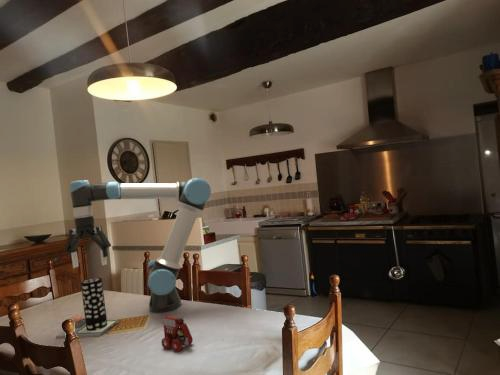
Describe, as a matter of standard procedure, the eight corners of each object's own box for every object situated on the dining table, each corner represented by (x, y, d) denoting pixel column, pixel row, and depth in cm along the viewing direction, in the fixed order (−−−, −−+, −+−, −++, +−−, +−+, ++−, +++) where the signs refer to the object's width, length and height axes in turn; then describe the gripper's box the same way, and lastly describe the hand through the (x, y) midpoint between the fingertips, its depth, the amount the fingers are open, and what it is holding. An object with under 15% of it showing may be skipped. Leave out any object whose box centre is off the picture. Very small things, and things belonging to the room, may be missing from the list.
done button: (85, 320, 163) (84, 315, 163) (79, 324, 159) (78, 319, 159) (76, 321, 164) (76, 316, 164) (71, 324, 160) (70, 319, 160)
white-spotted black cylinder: (87, 332, 151) (81, 284, 151) (85, 326, 158) (80, 280, 158) (108, 326, 155) (102, 280, 155) (106, 321, 162) (100, 276, 162)
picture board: (120, 321, 163) (119, 315, 163) (100, 336, 148) (100, 329, 148) (78, 323, 166) (78, 317, 166) (56, 338, 152) (55, 331, 152)
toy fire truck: (183, 354, 124) (180, 323, 124) (158, 348, 131) (155, 319, 131) (197, 345, 130) (194, 316, 130) (173, 340, 137) (169, 312, 137)
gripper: (115, 212, 157) (121, 261, 158) (63, 218, 162) (69, 266, 162) (105, 214, 150) (112, 265, 150) (51, 220, 154) (58, 270, 155)
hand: (90, 266), depth 156 cm, fingers open, 13 cm apart
